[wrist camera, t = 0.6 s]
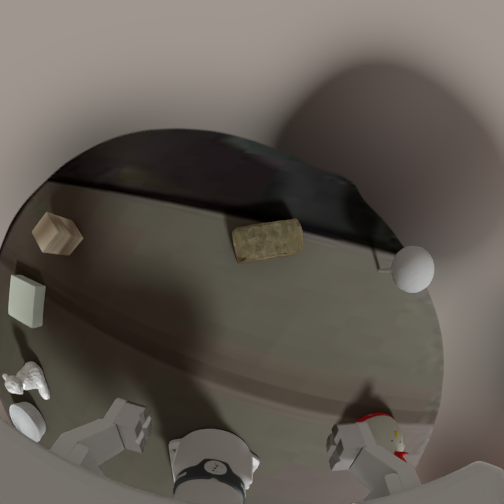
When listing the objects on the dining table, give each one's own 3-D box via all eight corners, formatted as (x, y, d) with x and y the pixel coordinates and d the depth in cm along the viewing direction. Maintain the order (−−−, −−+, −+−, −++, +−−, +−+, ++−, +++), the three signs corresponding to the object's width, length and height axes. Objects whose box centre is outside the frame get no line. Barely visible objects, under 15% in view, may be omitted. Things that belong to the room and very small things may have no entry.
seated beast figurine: (25, 380, 42) (-5, 394, 30) (24, 351, 43) (-8, 362, 31) (51, 399, 42) (22, 417, 30) (51, 369, 43) (19, 385, 31)
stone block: (230, 232, 47) (229, 227, 42) (295, 221, 48) (301, 215, 43) (237, 265, 47) (236, 264, 42) (302, 253, 47) (309, 251, 42)
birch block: (83, 238, 46) (57, 232, 37) (69, 255, 45) (42, 252, 36) (72, 220, 46) (46, 211, 37) (58, 237, 45) (31, 231, 36)
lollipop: (375, 296, 47) (422, 304, 32) (355, 267, 47) (399, 265, 32) (399, 273, 48) (449, 272, 33) (381, 244, 48) (428, 233, 33)
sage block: (43, 325, 44) (32, 328, 40) (19, 312, 44) (8, 313, 40) (46, 286, 45) (35, 286, 41) (22, 274, 44) (11, 274, 40)
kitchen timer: (404, 417, 45) (439, 447, 31) (371, 462, 44) (397, 497, 29) (361, 406, 45) (395, 441, 30) (326, 455, 44) (347, 497, 29)
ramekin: (14, 400, 41) (3, 406, 36) (33, 395, 42) (21, 402, 37) (35, 435, 41) (25, 443, 35) (56, 433, 41) (45, 442, 36)
